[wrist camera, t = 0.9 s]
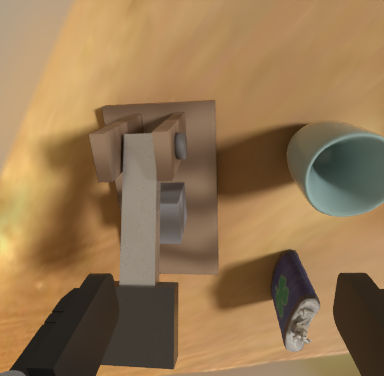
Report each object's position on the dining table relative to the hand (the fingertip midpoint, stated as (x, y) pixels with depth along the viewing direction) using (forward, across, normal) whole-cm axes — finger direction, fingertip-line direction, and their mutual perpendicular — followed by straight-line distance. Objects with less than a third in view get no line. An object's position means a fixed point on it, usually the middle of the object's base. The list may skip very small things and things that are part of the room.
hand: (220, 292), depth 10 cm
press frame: (+25, +7, +6) cm, 27 cm away
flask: (+26, -9, +20) cm, 34 cm away
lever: (+13, +7, +6) cm, 15 cm away
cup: (+25, -12, +1) cm, 27 cm away
